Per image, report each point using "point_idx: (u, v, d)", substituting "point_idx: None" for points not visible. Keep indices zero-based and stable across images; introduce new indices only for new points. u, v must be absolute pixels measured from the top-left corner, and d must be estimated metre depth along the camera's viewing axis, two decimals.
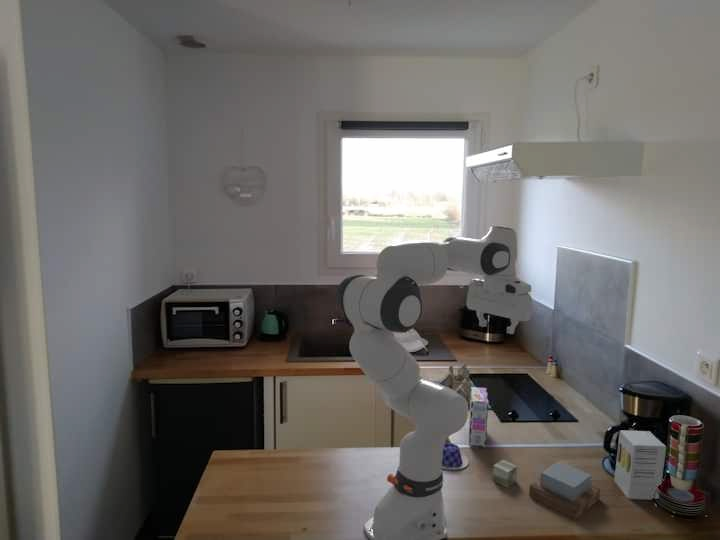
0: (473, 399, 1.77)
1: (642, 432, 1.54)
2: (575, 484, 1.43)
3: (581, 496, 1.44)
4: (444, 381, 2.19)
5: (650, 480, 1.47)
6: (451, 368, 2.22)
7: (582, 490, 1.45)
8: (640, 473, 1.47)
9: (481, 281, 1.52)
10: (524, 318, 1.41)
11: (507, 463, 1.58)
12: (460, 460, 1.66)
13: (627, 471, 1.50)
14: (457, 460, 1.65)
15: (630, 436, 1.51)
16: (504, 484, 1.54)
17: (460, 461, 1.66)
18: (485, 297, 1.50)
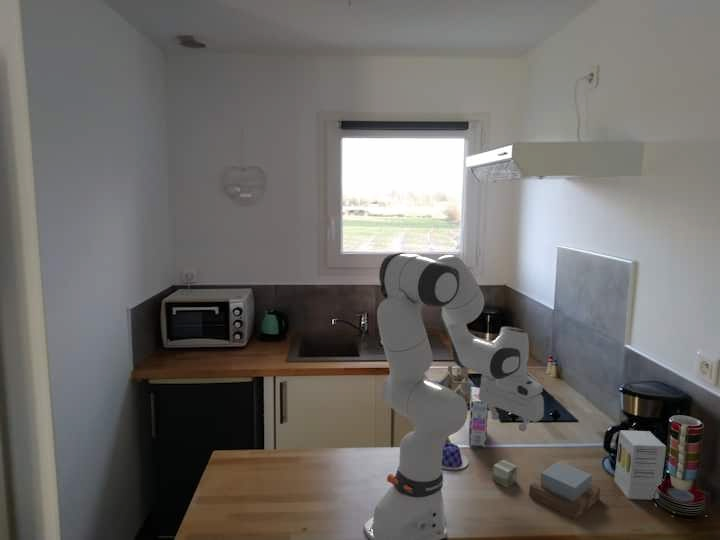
0: (473, 399, 1.77)
1: (642, 432, 1.54)
2: (575, 484, 1.43)
3: (581, 496, 1.44)
4: (443, 381, 2.19)
5: (650, 480, 1.47)
6: (450, 368, 2.21)
7: (583, 490, 1.45)
8: (640, 473, 1.47)
9: None
10: (536, 419, 1.45)
11: (507, 463, 1.58)
12: (460, 460, 1.66)
13: (627, 471, 1.50)
14: (457, 460, 1.65)
15: (630, 436, 1.51)
16: (504, 484, 1.54)
17: (460, 461, 1.66)
18: (498, 392, 1.54)
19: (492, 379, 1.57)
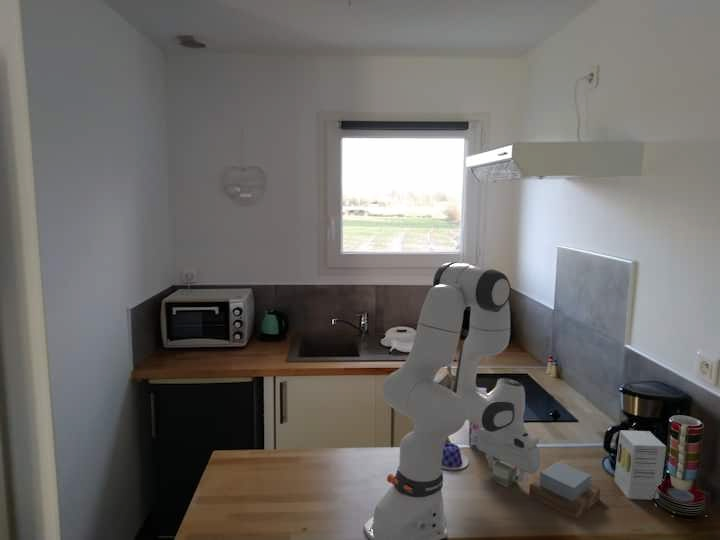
0: None
1: (642, 432, 1.54)
2: (574, 484, 1.42)
3: (581, 496, 1.44)
4: (442, 381, 2.19)
5: (650, 480, 1.47)
6: (449, 368, 2.21)
7: (582, 490, 1.45)
8: (640, 473, 1.47)
9: None
10: (532, 472, 1.48)
11: (507, 463, 1.58)
12: (460, 460, 1.66)
13: (627, 471, 1.50)
14: (457, 460, 1.65)
15: (630, 436, 1.51)
16: (504, 484, 1.54)
17: (460, 461, 1.66)
18: (494, 442, 1.57)
19: None
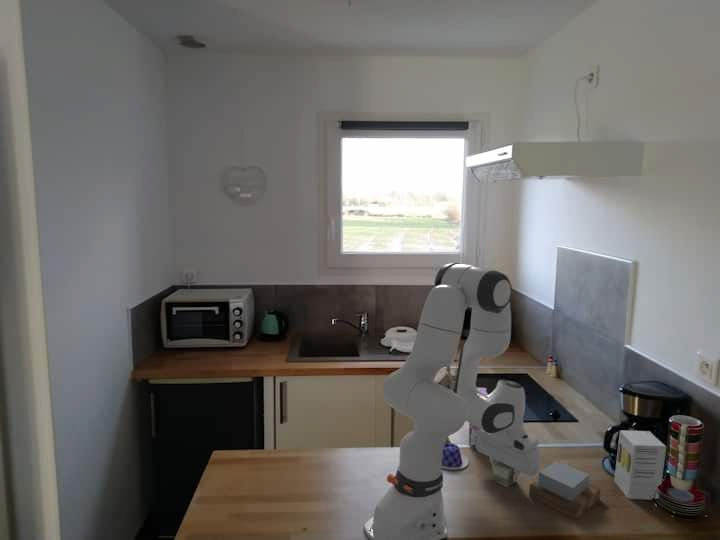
0: None
1: (642, 432, 1.54)
2: (573, 484, 1.43)
3: (581, 496, 1.44)
4: (441, 381, 2.19)
5: (650, 480, 1.47)
6: (448, 368, 2.21)
7: (580, 490, 1.45)
8: (640, 473, 1.47)
9: None
10: (532, 474, 1.48)
11: None
12: (460, 460, 1.66)
13: (627, 471, 1.50)
14: (457, 460, 1.65)
15: (630, 436, 1.51)
16: (504, 484, 1.54)
17: (460, 461, 1.66)
18: (494, 444, 1.57)
19: None
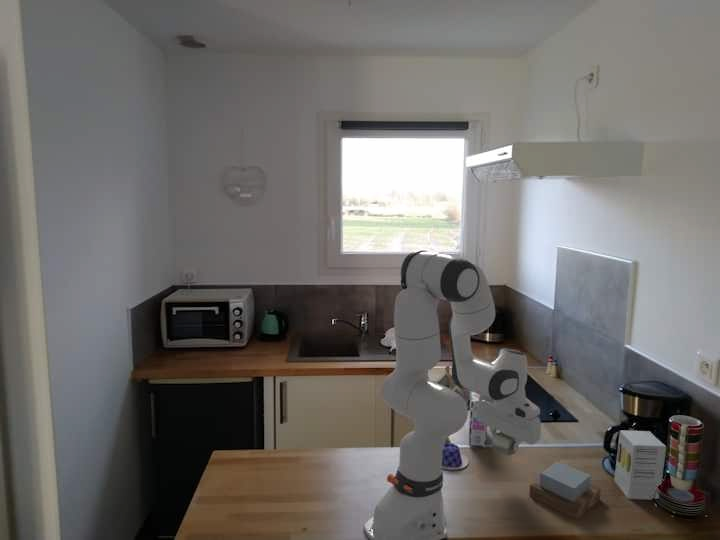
0: (473, 399, 1.77)
1: (642, 432, 1.54)
2: (574, 485, 1.42)
3: (581, 496, 1.44)
4: (441, 381, 2.19)
5: (650, 480, 1.47)
6: (447, 368, 2.21)
7: (582, 491, 1.44)
8: (640, 473, 1.47)
9: None
10: (533, 442, 1.46)
11: None
12: (460, 460, 1.66)
13: (627, 471, 1.50)
14: (456, 460, 1.64)
15: (630, 436, 1.51)
16: (504, 454, 1.52)
17: (460, 461, 1.66)
18: (495, 414, 1.55)
19: (490, 400, 1.57)
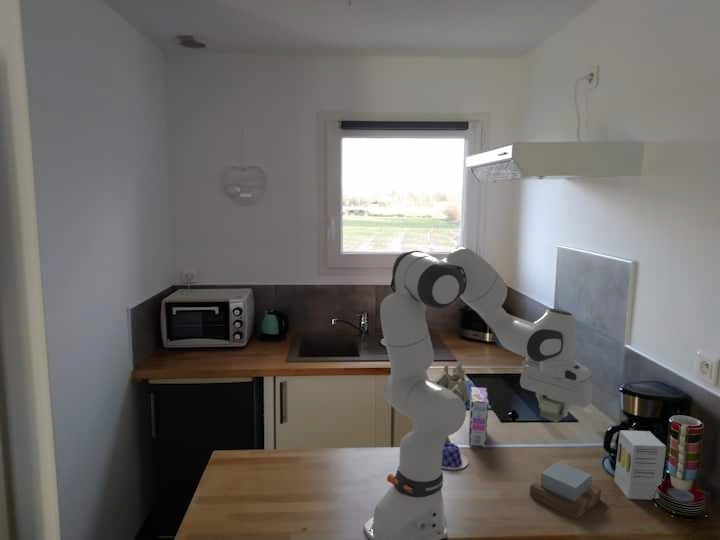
0: (473, 399, 1.77)
1: (642, 432, 1.54)
2: (576, 484, 1.42)
3: (582, 496, 1.44)
4: (439, 381, 2.19)
5: (650, 480, 1.47)
6: (446, 368, 2.21)
7: (583, 490, 1.45)
8: (640, 473, 1.47)
9: (536, 361, 1.49)
10: (585, 405, 1.38)
11: None
12: (459, 460, 1.66)
13: (627, 471, 1.50)
14: (456, 460, 1.64)
15: (630, 436, 1.51)
16: (553, 419, 1.45)
17: (459, 461, 1.66)
18: (541, 378, 1.47)
19: (535, 365, 1.50)
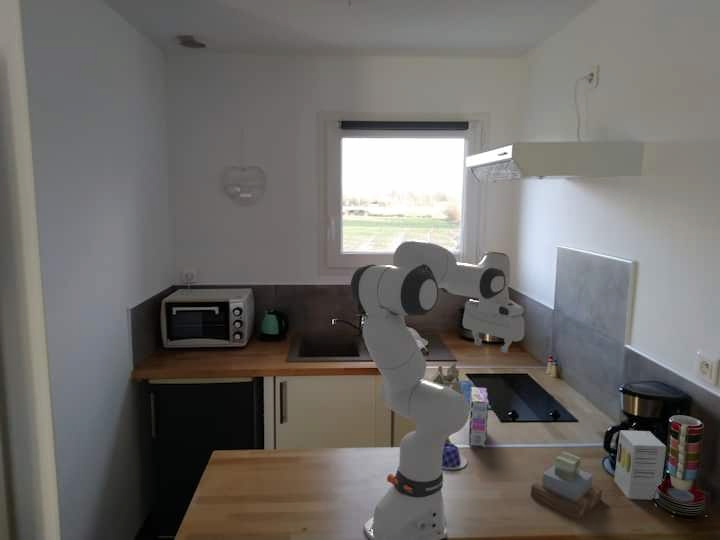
0: (473, 399, 1.77)
1: (642, 432, 1.54)
2: (577, 484, 1.43)
3: (583, 497, 1.44)
4: None
5: (650, 480, 1.47)
6: (440, 368, 2.21)
7: (584, 490, 1.45)
8: (640, 473, 1.47)
9: (476, 302, 1.61)
10: (517, 338, 1.50)
11: (569, 455, 1.49)
12: (457, 461, 1.65)
13: (627, 471, 1.50)
14: (453, 460, 1.64)
15: (630, 436, 1.51)
16: (569, 477, 1.45)
17: (457, 462, 1.65)
18: (480, 317, 1.59)
19: (475, 305, 1.61)
